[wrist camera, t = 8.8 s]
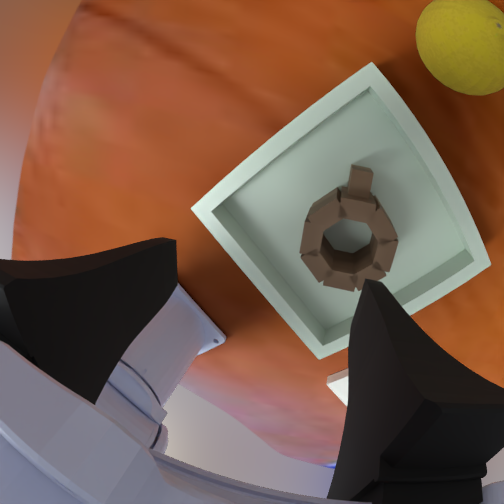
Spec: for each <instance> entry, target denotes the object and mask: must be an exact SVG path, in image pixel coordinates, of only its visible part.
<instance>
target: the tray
mask: <svg viewBox="0 0 504 504" xmlns="http://www.w3.org/2000/svg"><path fill="white" fill-rule="evenodd" d="M351 164H353V165H358V166H362V167H367V168H371V170H372V172H373V173H374V174H373V180H372V185H371V190H370V192H372V195H373V196H374V195H376V197H377V199H378V200H379V202H380V203H381V205H382V207H383V208H384V210H385V211H386V213H387V215H388V216H389V218H390V220H391V222H392V224H393V226H394V228H395V231H396V233H397V235H398V237H397V239H398V241H399V243H398V246H397V250H396V253H395V256H394V260H393V263H392V266H391V269H390V272H386V277H384V278H382V279H380V280H378V281H381V282H382V283H383V284H384V285H385V286H386V287H387V288H388V290H389V291H390V292H391V293H392V295H393V296H394V297H395V299H396V300H397V301H398V302H399V304H400V305H401V306H402V307H403V308H404V310H405V311H406V312H407V313H408V314H409V316H410V315H412V314H413V313H415V312H417V311H419V310H421V309H422V308H424V307H426V306H428V305H429V304H431V303H433V302H434V301H436V300H438V299H439V298H441V297H443V296H444V295H446V294H448V293H449V292H451V291H452V290H454V289H456V288H457V287H459V286H460V285H462V284H463V283H465V282H466V281H468V280H470V279H471V278H473V277H474V276H476V275H477V274H479V273H480V272H481V271H483V270H484V269H486V268H487V267H489V266H490V265H491V262H490V260H489V257H488V254H487V252H486V249H485V247H484V244H483V242H482V239H481V237H480V234H479V232H478V230H477V227H476V225H475V223H474V220H473V218H472V216H471V214H470V212H469V210H468V207H467V205H466V203H465V201H464V199H463V197H462V195H461V193H460V191H459V189H458V187H457V185H456V184H455V182H454V180H453V178H452V176H451V174H450V172H449V171H448V169H447V167H446V165H445V164H444V162H443V160H442V158H441V157H440V155H439V153H438V152H437V150H436V148H435V147H434V145H433V144H432V142H431V140H430V139H429V137H428V136H427V134H426V133H425V131H424V130H423V128H422V127H421V125H420V124H419V122H418V121H417V119H416V118H415V116H414V115H413V114H412V112H411V111H410V109H409V108H408V107H407V105H406V104H405V102H404V101H403V100H402V98H401V97H400V96H399V94H398V93H397V92H396V91H395V89H394V88H393V87H392V85H391V84H390V83H389V82H388V80H387V79H386V78H385V77H384V76H383V74H382V73H381V72H380V71H379V70H378V68H377V67H376V66H375V65H374V64H373V63H372V62H371V63H369V64H368V65H366V66H365V67H364V68H362V69H361V70H359V71H358V72H356V73H355V74H354V75H352V76H351V77H349V78H348V79H347V80H345V81H344V82H343V83H341V84H340V85H338V86H337V87H336V88H334V89H333V90H332V91H330V92H329V93H328V94H326V95H325V96H324V97H322V98H321V99H320V100H318V101H317V102H316V103H314V104H313V105H312V106H311V107H309V108H308V109H307V110H305V111H304V112H303V113H301V114H300V115H299V116H298V117H296V118H295V119H294V120H293V121H291V122H290V123H289V124H288V125H286V126H285V127H284V128H283V129H281V130H280V131H279V132H278V133H276V134H275V135H274V136H273V137H272V138H270V139H269V140H268V141H267V142H266V143H264V144H263V145H262V146H261V147H260V148H258V149H257V150H256V151H255V152H254V153H252V154H251V155H250V156H249V157H248V158H247V159H245V160H244V161H243V162H242V163H241V164H240V165H238V166H237V167H236V168H235V169H234V170H233V171H232V172H230V173H229V174H228V175H227V176H226V177H225V178H224V179H223V180H221V181H220V182H219V183H218V184H217V185H216V186H215V187H214V188H212V189H211V190H210V191H209V192H208V193H207V194H206V195H205V196H204V197H203V198H202V199H200V200H199V201H198V202H197V203H196V204H195V205H194V206H193V207H192V208H191V210H192V211H193V212H194V213H195V214H196V216H197V217H198V218H199V219H200V220H201V222H202V223H203V224H204V225H205V227H206V228H207V229H208V230H209V231H210V233H211V234H212V235H213V236H214V237H215V239H216V240H217V241H218V242H219V243H220V245H221V246H222V247H223V248H224V249H225V251H226V252H227V253H228V254H229V255H230V257H231V258H232V259H233V260H234V261H235V263H236V264H237V265H238V266H239V267H240V268H241V270H242V271H243V272H244V273H245V274H246V276H247V277H248V278H249V279H250V280H251V281H252V283H253V284H254V285H255V286H256V287H257V289H258V290H259V291H260V292H261V293H262V294H263V296H264V297H265V298H266V299H267V300H268V301H269V303H270V304H271V305H272V306H273V307H274V308H275V310H276V311H277V312H278V313H279V314H280V315H281V317H282V318H283V319H284V320H285V321H286V322H287V324H288V325H289V326H290V327H291V328H292V329H293V331H294V332H295V333H296V334H297V335H298V336H299V338H300V339H301V340H302V341H303V342H304V343H305V344H306V346H307V347H308V348H309V349H310V350H311V351H312V352H313V354H314V355H315V356H316V357H317V358H318V359H319V360H320V359H322V358H324V357H326V356H329V355H331V354H333V353H336V352H338V351H340V350H342V349H344V348H347V347H348V346H349V336H350V328H351V323H352V320H353V317H354V314H355V310H356V307H357V304H358V301H359V298H360V294H361V291H362V290H360V291H358V290H357V288H356V287H355V290H354V292H351V291H347V290H342V289H337V288H333V287H328V286H323V281H324V280H323V281H322V282H320V283H319V282H318V281H317V280H316V278H315V277H314V276H313V274H312V273H311V271H310V270H309V269H308V267H307V266H306V265H305V263H304V262H303V261H302V259H301V258H300V257H301V254H300V253H299V252H300V246H301V240H302V234H303V228H304V222H305V219H306V217H307V214H308V212H309V209H310V207H311V206H312V204H313V203H314V202H316V201H317V200H319V199H320V198H321V197H323V196H324V195H326V194H327V193H329V192H330V191H332V190H333V189H335V188H336V187H338V188H339V190H340V191H341V187H342V186H344V187H347V186H348V180H349V174H350V168H351ZM323 234H324V236H325V237H326V238H327V240H328V241H329V243H330V244H331V245H332V247H333V248H334V249H335V250H340V251H345V252H349V253H354V252H356V251H358V250H359V249H361V248H363V247H364V246H366V245H368V244H369V243H370V239H371V235H372V231H371V229H370V228H369V226H368V225H367V223H363V222H358V221H353V220H349V219H344V218H343V219H342V220H340V221H338V222H337V223H335V224H334V225H332V226H331V227H329V228H327V229H326V230H324V232H323Z"/></svg>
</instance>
